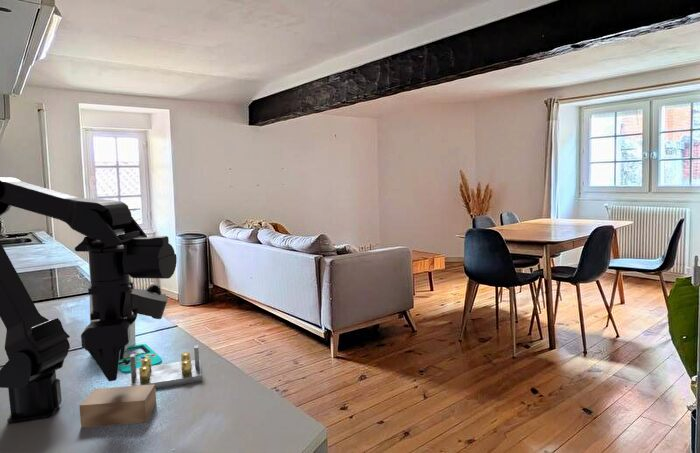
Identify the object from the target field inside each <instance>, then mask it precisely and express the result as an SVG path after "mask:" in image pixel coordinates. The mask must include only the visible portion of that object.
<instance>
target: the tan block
mask: <svg viewBox="0 0 700 453" xmlns="http://www.w3.org/2000/svg"><path fill="white" fill-rule="evenodd" d="M156 392H157V391H156V389H155V384H153V385H139V386H129V385H127V386H115V387H114V386H113V387H100V388H99V387H98V388H94V389H93V390H92V391H91V392H90V393H89V394H88V395H87V396H86V398H85V399H83V401H82V402H81V403H79V418H80V428H90V427H91V428H92V427H101V426H103V427H104V426H114V425H115V426H116V425H127V424H138V423H147V421H148V420H149V418H150V416H151V414H152V413H153V411H154V409H155V407H156V406H157V393H156Z"/></svg>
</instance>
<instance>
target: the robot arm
mask: <svg viewBox="0 0 700 453" xmlns="http://www.w3.org/2000/svg"><path fill="white" fill-rule="evenodd" d="M11 207H14V208H17V209H21V210H25V211H28V212H31V213H35V214H38V215H42V216H45V217H49V218H53V219H55V220H59V221H61V222H64V223H65V224H67V225H68V226H69V228H70V229H71V230H73V231H75V232H77V233H79V234H81V235H84V236H85V237H84V238H83V239H82V241H81V242H80V243H78V244H77V245H76V246H75V247H74V251H75V252H77V253H78V252H79V253H80V252H84V253H85V252H87V253H88V254H87V255H88V267H89V282H90V286H89V287H88V288H87V289H88V290H87V291H88V296H90V295H91V297H92V310H93V311H92V312H91V314H90V313H89V320H98V319H100V321H94V322H91V323H90V322H89V324H88V325H87V326H86V327H85V328H84V330H83V331H82V333H81V334H80V340H81V348H83V349H84V350H85V352H86V351H87V352H88V354H90V356H91V357H92V358H93V360H94V361H95V363H96V364H97V366H98V367H99V369H100V370H101V371H102V373H103V375H104V376H105V378H106V380H107V381H108V382H115V381H116V380H117V379H118V372H119V368H118V366H119V360H121V359H123V357H125V352H126V351H125V346H126V345H127V344H128V343H129V340H130V325H131V324H132V323H133V322H134V321H135V322H136V320H137V318H138V315H142V316H147V317H151V318H152V319H155V320H161V319H162V318H163V316H164V311H165V309H166V306H167V303H168V298H169V297H168V296H167V295H166V293H162V290H161V285H157V284H155V283H154V284H153V283H152V284H151V285H149V286H148V287H147V288H146V289H144V288H141V289H139V288H135V285H134V281H132V279H160V280H161V279H170V278H171V277H173V275H174V274H175V271H176V268H177V260H178V259H177V254H176V253H175V250H174V247H173V246H172V244H171V243H169V241H170V240H169V236H168V235H165V236H163V235H162V236H161V235H160V236H154V237H150V236H149V237H148V236H147V234H146V232H144V230H143V229H142V228H141V227H140V225H139V224H138V223H137V220H135V219H134V217H133V216H132V213H131V210H130V208H129V206H128V205H127V204H126V203H125V202H123V201H120V200H116V199H115V200H114V199H113V200H112V199H101V198H84V197H77V196H73V195H70V194H67V193H63V192H60V191H56V190H53V189H49V188H46V187H42V186H39V185H36V184H32V183H28V182H25V181H22V180H20V179H18V178H16V177H9V176H0V217H1V216H3V215H4V214H6V213H7V212H8V211H9V210H10V209H11ZM2 227H3V223H2V221H1V220H0V236H1V234H2ZM3 246H4V245H3V244H2V243H1V241H0V320H1V321H2V323H3V324H4V327H5V329H6V333H5V342H4V351H5V352H6V353H5V354H6V356H7V359H8V361H7V362H5V363H4V365H3V366H2V367H1V368H0V388H2V389H3V388H5V389H7V390H8V391H7V392H8V401H9V408H10V409H9V411H10V415H9V417H8V418H7V420H6V423H7V424H11V423H12V424H13V423H18V422H24V421H30V420H35V419H42V418H47V417H52V416H54V413H55V412H56V410H57V408H59V406H60V404H61V403H62V400H63V399H62V390H61V380H60V379H59V378H57V375H56V374H57V373H56V371H58V370H59V369H62V368H63V366H64V361H65V359H66V357H67V356H68V355H69V351H70V349H71V345H70V344H71V343H70V342H69V339H70V335H69V334H68V333H67V332H66V330H65V329H64V327H63V324H62V320H60V318H58V317H55V318H52V319H48V318H46V317H44V316H43V315H42V314H40V313H39V310H38V308H37V307H36V305H35V303H34V301H33V300H32V298H31V296H30V294H29V292H28V290H27V288H26V286H25V285H24V283H23V281H22V280H21V278H20V276H19V274H18V272H17V270H16V269H15V267H14V265H13V263H12V261H11V259H10V257H9V255H8V254H7V252H6V250H5V248H4V247H3ZM130 278H132V279H130ZM132 312H133V314H132ZM124 351H125V352H124Z"/></svg>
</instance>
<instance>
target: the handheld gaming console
mask: <svg viewBox="0 0 700 453" xmlns="http://www.w3.org/2000/svg"><path fill="white" fill-rule="evenodd" d="M141 348H142V349H143V350H144V351H146V352H141V353H139V352H138V353H137V352H135V351H134V352H132V353H128V355H126V356H124V357H123V359H121V360H119V366H118V370H119V371H120V372H121V373H122V374H127V373H129V374H130V373H131V364H130V355H131V354H135V356H136V368H140V367H141V360H142V359H145V358H150V359H151V366H154V365H161V363H162V362H163V358H162V357H161V356H160V355H159V354H157V353H156V352H155V350H153V349H152V348H151V347H150V346H148V345H147V343H140V344H139V343H138V344H134V345H133V346H130V347H129V348H128V349H126V351H124V353H125V352H127V351H132V350H136V349H141Z"/></svg>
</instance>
